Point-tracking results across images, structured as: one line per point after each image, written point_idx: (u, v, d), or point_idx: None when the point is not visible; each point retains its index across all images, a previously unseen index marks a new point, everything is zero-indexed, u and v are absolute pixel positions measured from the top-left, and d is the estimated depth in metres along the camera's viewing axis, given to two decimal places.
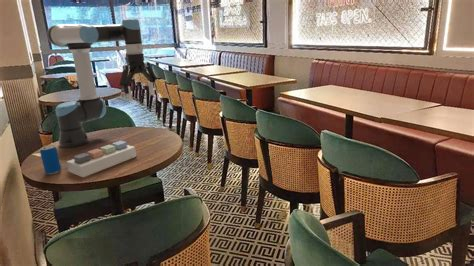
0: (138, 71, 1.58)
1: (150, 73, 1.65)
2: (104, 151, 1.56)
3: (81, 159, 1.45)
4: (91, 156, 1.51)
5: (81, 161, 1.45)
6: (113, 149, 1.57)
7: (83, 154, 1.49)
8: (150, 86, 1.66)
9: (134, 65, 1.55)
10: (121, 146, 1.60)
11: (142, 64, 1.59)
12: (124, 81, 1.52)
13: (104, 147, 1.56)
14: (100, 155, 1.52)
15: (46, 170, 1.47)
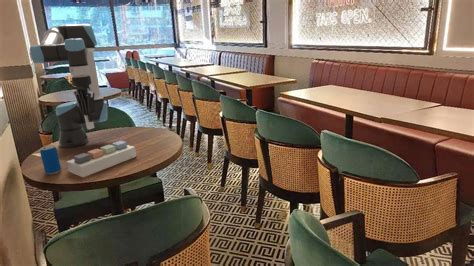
0: None
1: None
2: (104, 151, 1.56)
3: (81, 159, 1.45)
4: (91, 156, 1.51)
5: (81, 161, 1.45)
6: (113, 149, 1.57)
7: (83, 154, 1.49)
8: None
9: (77, 87, 1.44)
10: (121, 146, 1.60)
11: (84, 88, 1.41)
12: (80, 107, 1.47)
13: (104, 147, 1.56)
14: (100, 155, 1.52)
15: (46, 170, 1.47)
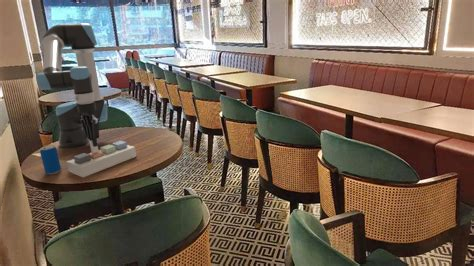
0: None
1: None
2: (104, 151, 1.56)
3: (81, 159, 1.45)
4: None
5: (81, 161, 1.45)
6: (113, 149, 1.57)
7: (83, 154, 1.49)
8: None
9: (82, 113, 1.47)
10: (121, 146, 1.60)
11: (89, 115, 1.44)
12: (84, 132, 1.51)
13: (104, 147, 1.56)
14: None
15: (46, 170, 1.47)
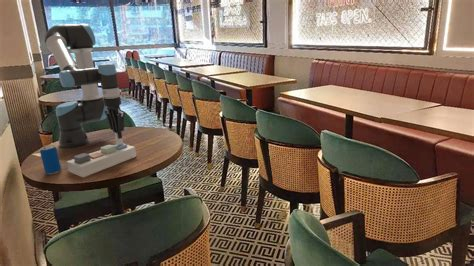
0: None
1: None
2: (104, 151, 1.56)
3: (81, 159, 1.45)
4: None
5: (81, 161, 1.45)
6: (113, 149, 1.57)
7: (83, 154, 1.49)
8: None
9: (108, 107, 1.57)
10: (121, 148, 1.61)
11: (115, 108, 1.54)
12: (110, 125, 1.60)
13: (104, 147, 1.56)
14: None
15: (46, 170, 1.47)
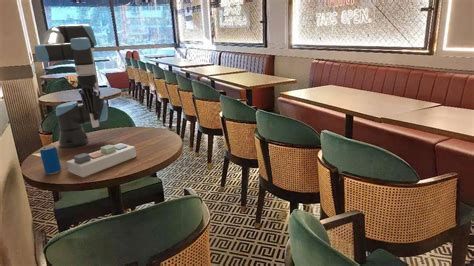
0: (87, 94, 1.45)
1: None
2: (104, 151, 1.56)
3: (81, 159, 1.45)
4: None
5: (81, 161, 1.45)
6: (113, 149, 1.57)
7: (83, 154, 1.49)
8: None
9: (82, 85, 1.45)
10: None
11: (89, 87, 1.43)
12: (85, 106, 1.49)
13: (104, 147, 1.56)
14: None
15: (46, 170, 1.47)
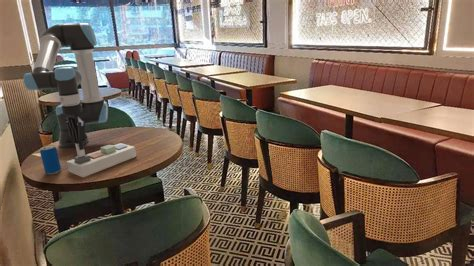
0: None
1: None
2: (104, 151, 1.56)
3: (81, 160, 1.45)
4: None
5: (81, 162, 1.45)
6: (113, 149, 1.57)
7: None
8: None
9: (67, 115, 1.42)
10: None
11: (74, 117, 1.39)
12: (70, 135, 1.46)
13: (104, 147, 1.56)
14: None
15: (46, 170, 1.47)
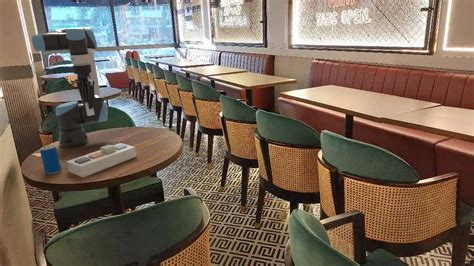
0: None
1: None
2: (104, 151, 1.56)
3: None
4: None
5: None
6: (113, 149, 1.57)
7: (84, 158, 1.49)
8: None
9: (78, 75, 1.50)
10: None
11: (84, 76, 1.47)
12: (80, 95, 1.53)
13: (104, 147, 1.56)
14: None
15: (46, 170, 1.47)
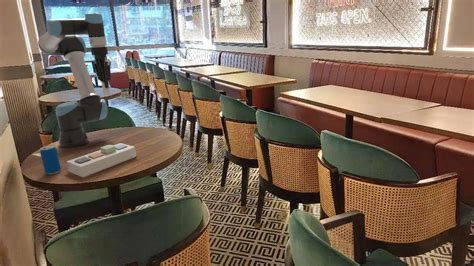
0: None
1: None
2: (104, 151, 1.56)
3: None
4: None
5: None
6: (113, 149, 1.57)
7: (84, 158, 1.49)
8: None
9: (95, 56, 1.63)
10: None
11: (101, 57, 1.60)
12: (97, 75, 1.67)
13: (104, 147, 1.56)
14: None
15: (46, 170, 1.47)
